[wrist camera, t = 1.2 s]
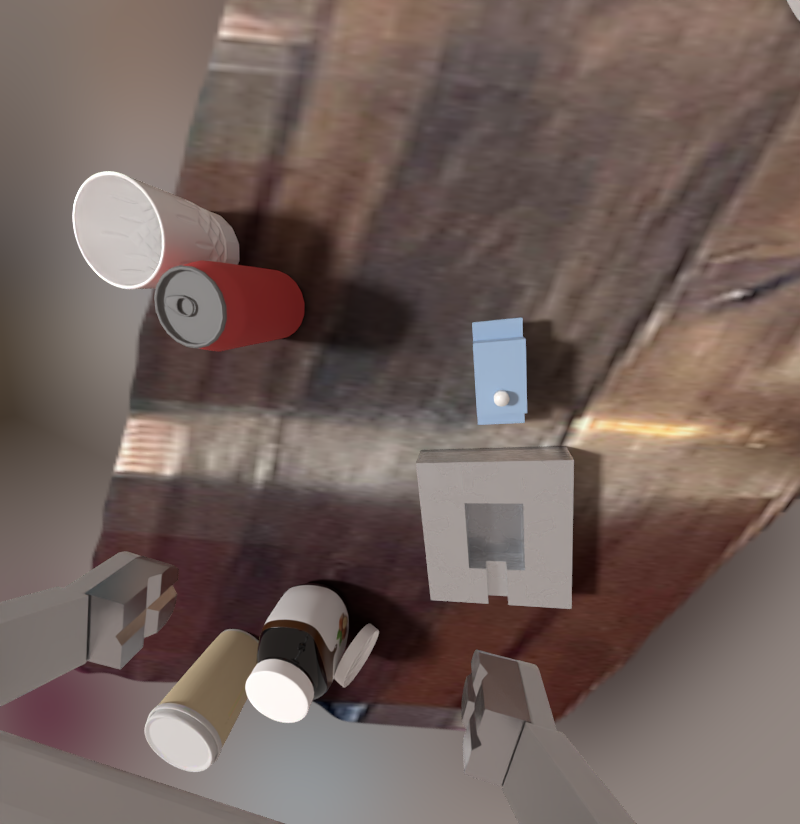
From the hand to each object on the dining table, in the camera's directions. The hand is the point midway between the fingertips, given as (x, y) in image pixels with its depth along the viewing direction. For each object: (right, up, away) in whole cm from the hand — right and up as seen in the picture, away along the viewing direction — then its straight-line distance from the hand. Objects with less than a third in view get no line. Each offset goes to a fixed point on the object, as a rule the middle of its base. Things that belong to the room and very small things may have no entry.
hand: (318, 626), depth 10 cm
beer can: (-10, +16, +27) cm, 33 cm away
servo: (+11, +10, +25) cm, 29 cm away
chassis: (+12, -6, +29) cm, 32 cm away
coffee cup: (-21, -28, +43) cm, 56 cm away
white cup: (-17, +22, +27) cm, 38 cm away
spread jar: (-6, -20, +38) cm, 43 cm away
